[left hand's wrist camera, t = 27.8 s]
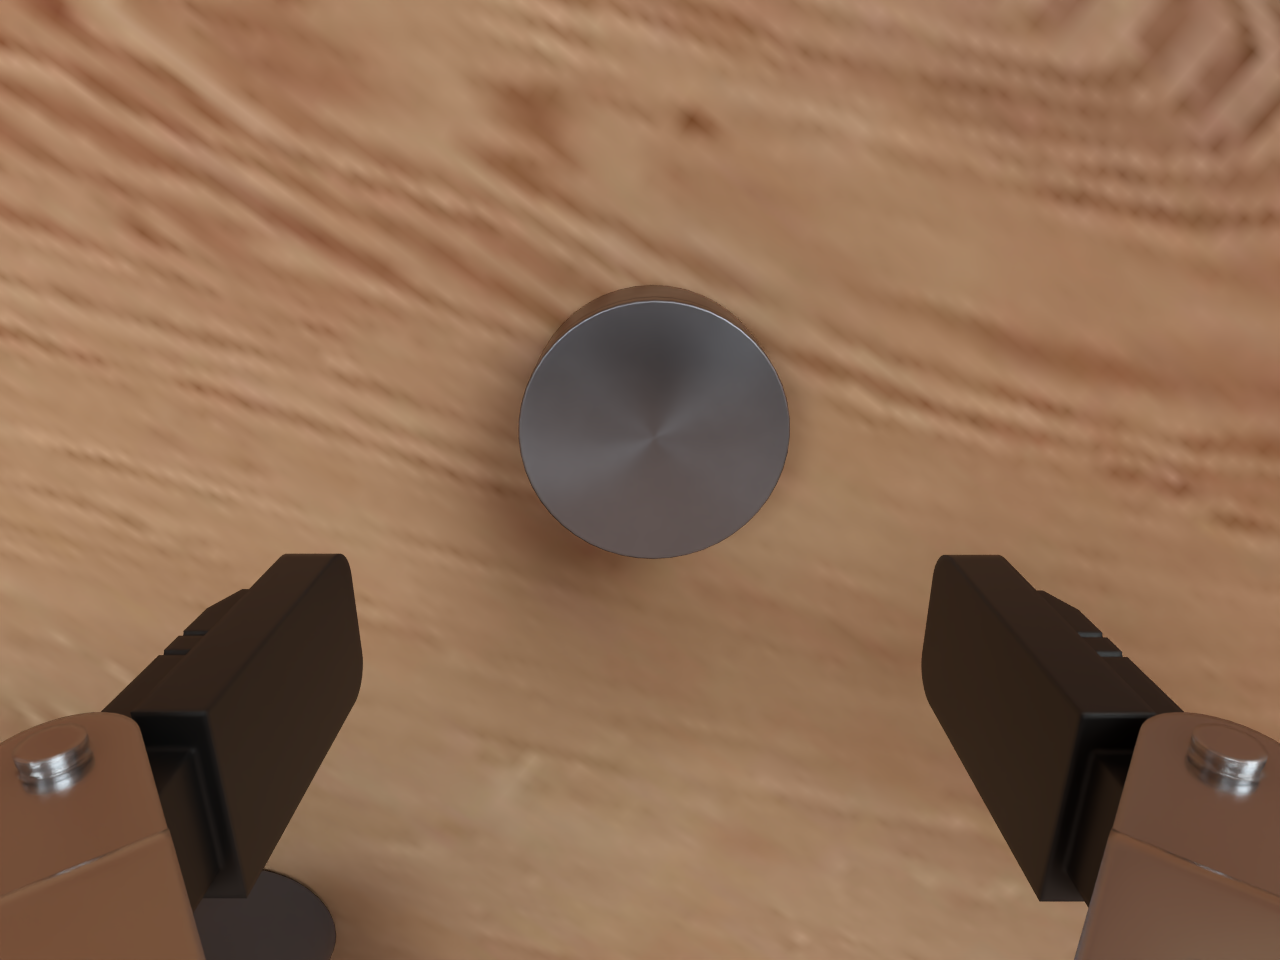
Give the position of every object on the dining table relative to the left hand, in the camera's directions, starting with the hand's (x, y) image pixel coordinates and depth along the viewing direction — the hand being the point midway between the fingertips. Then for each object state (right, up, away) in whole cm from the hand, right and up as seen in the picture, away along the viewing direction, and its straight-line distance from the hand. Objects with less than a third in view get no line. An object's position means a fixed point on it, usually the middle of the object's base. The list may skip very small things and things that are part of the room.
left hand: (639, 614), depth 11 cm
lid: (0, +3, +4) cm, 5 cm away
